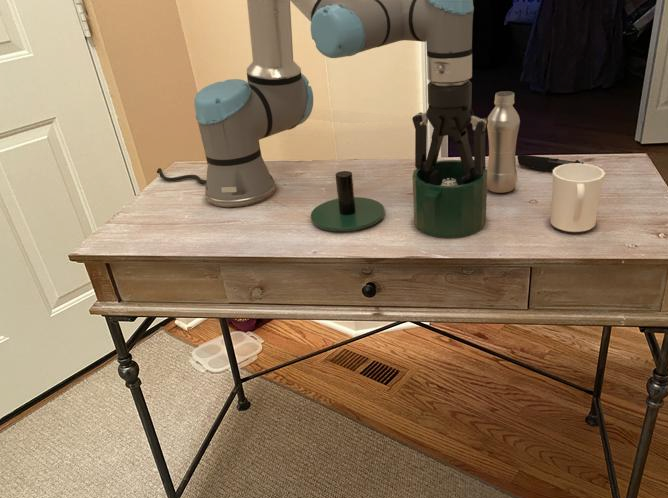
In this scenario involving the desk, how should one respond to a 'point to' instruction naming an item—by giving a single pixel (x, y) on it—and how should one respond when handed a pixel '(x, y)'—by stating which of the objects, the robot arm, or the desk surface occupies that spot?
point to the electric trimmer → (542, 162)
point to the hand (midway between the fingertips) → (449, 206)
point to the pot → (449, 202)
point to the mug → (575, 197)
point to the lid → (347, 208)
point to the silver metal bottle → (502, 144)
